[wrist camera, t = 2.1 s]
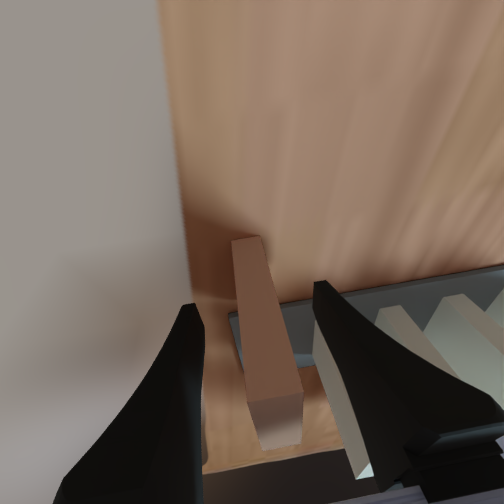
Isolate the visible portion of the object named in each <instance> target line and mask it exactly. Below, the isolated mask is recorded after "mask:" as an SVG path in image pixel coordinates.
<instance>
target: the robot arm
mask: <svg viewBox="0 0 504 504" xmlns="http://www.w3.org/2000/svg"><path fill="white" fill-rule="evenodd" d="M312 309H313V312H314V315H315V318H316V321H317V324H318V326H319V329H320V331H321V333H322V335H323V337H324V339H325V342H326V344H327V346H328V348H329V350H330V352H331V354H332V357H333V359H334V361H335V363H336V365H337V367H338V370H339V372H340V374H341V377H342V380H343V382H344V385H345V388H346V391H347V393H348V396H349V399H350V402H351V405H352V408H353V411H354V414H355V417H356V420H357V423H358V426H359V429H360V432H361V435H362V438H363V441H364V444H365V448H366V451H367V454H368V457H369V461H370V464H371V467H372V471H373V474H374V477H375V480H376V483H377V485H378V488H379V490H380V493H378V494H374V495H369V496H364V497H359V498H355V499H349V500H345V501H340V502H335V503H331V504H504V437H503V436H504V410H503V409H502V407H501V406H500V405H499V404H498V403H497V402H496V401H495V400H494V399H493V398H492V397H491V396H490V395H489V394H487V393H485V392H483V391H481V390H479V389H478V388H476V387H474V386H472V385H470V384H468V383H466V382H464V381H462V380H460V379H458V378H456V377H454V376H452V375H450V374H449V373H447V372H445V371H443V370H442V369H440V368H438V367H436V366H435V365H433V364H431V363H430V362H428V361H426V360H425V359H423V358H422V357H420V356H418V355H417V354H415V353H413V352H412V351H410V350H409V349H407V348H406V347H404V346H403V345H401V344H400V343H398V342H397V341H396V340H394V339H393V338H391V337H390V336H389V335H387V334H386V333H385V332H383V331H382V330H381V329H379V328H378V327H377V326H375V325H374V324H373V323H372V322H371V321H369V320H368V319H367V318H366V317H365V316H363V315H362V314H361V313H360V312H359V311H358V310H357V309H355V308H354V307H353V306H352V305H351V304H350V303H349V302H348V301H347V300H346V299H345V298H344V297H342V296H341V295H340V294H339V293H338V292H337V291H336V290H335V289H334V288H333V287H332V286H331V285H330V284H329V283H328V282H327V281H326V280H323V281H317V282H314V289H313V303H312ZM204 353H205V328H204V324H203V322H202V319H201V317H200V314H199V312H198V309H197V307H196V304H195V303H191V304H185V305H183V306H182V307H181V309H180V311H179V314H178V316H177V318H176V320H175V323H174V325H173V327H172V329H171V331H170V333H169V335H168V337H167V339H166V341H165V343H164V345H163V347H162V349H161V350H160V352H159V354H158V356H157V357H156V359H155V361H154V362H153V364H152V366H151V368H150V369H149V371H148V372H147V374H146V376H145V377H144V379H143V380H142V382H141V383H140V385H139V386H138V388H137V389H136V390H135V392H134V393H133V395H132V396H131V398H130V399H129V400H128V402H127V403H126V404H125V406H124V407H123V408H122V410H121V411H120V412H119V414H118V415H117V416H116V418H115V419H114V420H113V421H112V423H111V424H110V425H109V426H108V427H107V429H106V430H105V431H104V433H103V434H102V435H101V436H100V437H99V439H98V440H97V441H96V442H95V443H94V444H93V446H92V447H91V448H90V449H89V450H88V451H87V453H85V455H84V456H83V457H82V458H81V459H80V460H79V461H78V462H77V464H76V465H75V466H74V467H73V468H72V469H71V470H70V471H69V472H68V474H67V475H66V476H65V477H64V478H63V480H62V482H61V485H60V487H59V489H58V491H57V493H56V496H55V499H54V501H53V504H204V503H203V482H202V456H201V388H202V377H203V365H204Z"/></svg>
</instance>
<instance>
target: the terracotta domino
mask: <svg viewBox="0 0 504 504" xmlns="http://www.w3.org/2000/svg"><path fill="white" fill-rule="evenodd" d="M231 245H232V255H233V265H234V275H235V285H236V295H237V306H238V316H239V326H240V336H241V346H242V356H243V366H244V376H245V386H246V396H247V404H248V407H249V410H250V413H251V416H252V420H253V423H254V426H255V429H256V432H257V435H258V439H259V442H260V445H261V448H262V451H265V450H270V449H275V448H280V447H286V446H291V445H296V444H301V436H302V419H303V401H304V390H303V386H302V383H301V379H300V376H299V372H298V369H297V365H296V362H295V358H294V355H293V351H292V347H291V344H290V340H289V337H288V333H287V330H286V326H285V323H284V319H283V316H282V312H281V309H280V305H279V302H278V298H277V295H276V291H275V288H274V284H273V280H272V277H271V273H270V270H269V266H268V263H267V259H266V256H265V252H264V249H263V245H262V242H261V238H260V236H256V237H250V238H244V239H238V240H232V241H231Z"/></svg>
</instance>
